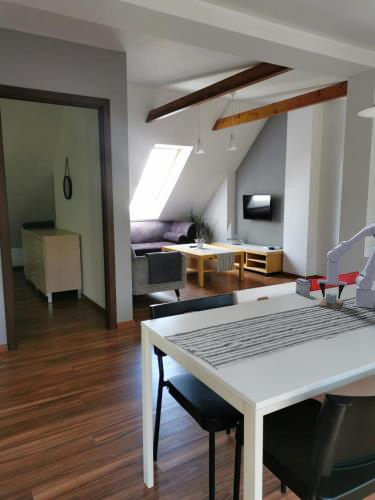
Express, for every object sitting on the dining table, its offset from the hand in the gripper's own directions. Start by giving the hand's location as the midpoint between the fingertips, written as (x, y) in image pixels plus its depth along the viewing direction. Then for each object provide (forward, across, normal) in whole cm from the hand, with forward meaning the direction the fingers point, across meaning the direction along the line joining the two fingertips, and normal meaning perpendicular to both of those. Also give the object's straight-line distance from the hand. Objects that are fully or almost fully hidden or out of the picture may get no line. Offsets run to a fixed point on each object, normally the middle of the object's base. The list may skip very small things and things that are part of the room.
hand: (331, 298), depth 201 cm
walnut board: (+3, 0, 0) cm, 3 cm away
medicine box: (+4, +18, -15) cm, 24 cm away
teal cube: (+2, 0, 0) cm, 2 cm away
